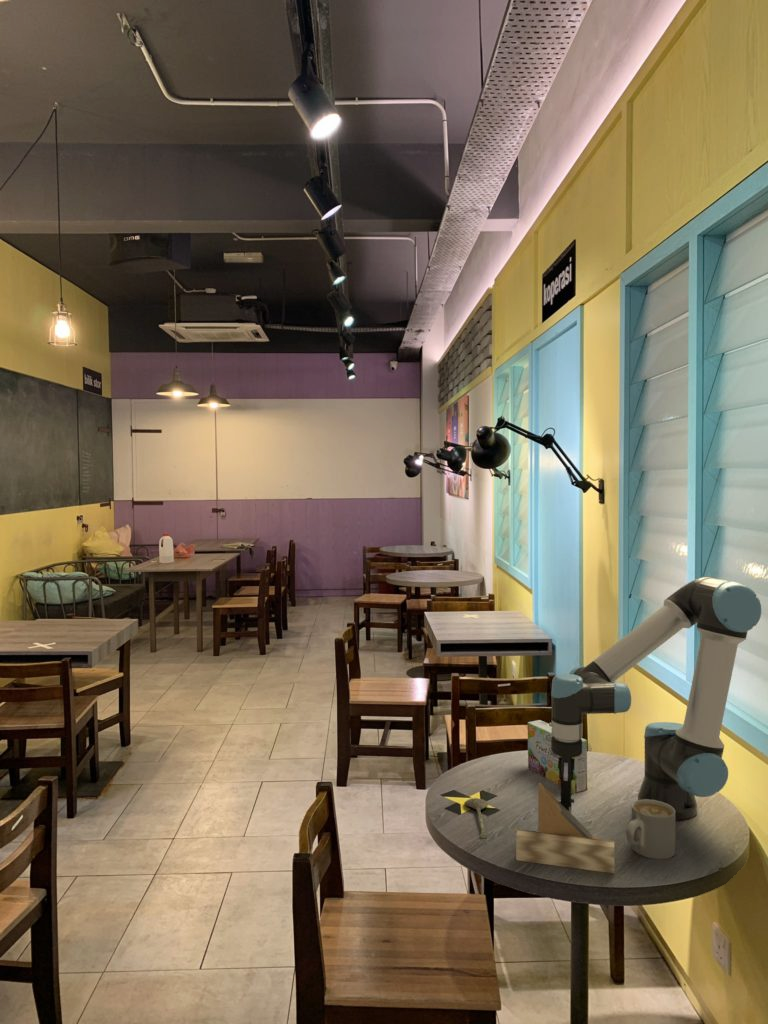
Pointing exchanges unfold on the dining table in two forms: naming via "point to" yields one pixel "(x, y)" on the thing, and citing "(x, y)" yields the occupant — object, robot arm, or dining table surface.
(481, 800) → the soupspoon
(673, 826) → the coffee mug
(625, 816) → the dining table surface
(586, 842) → the birch board
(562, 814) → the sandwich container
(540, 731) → the snack box
